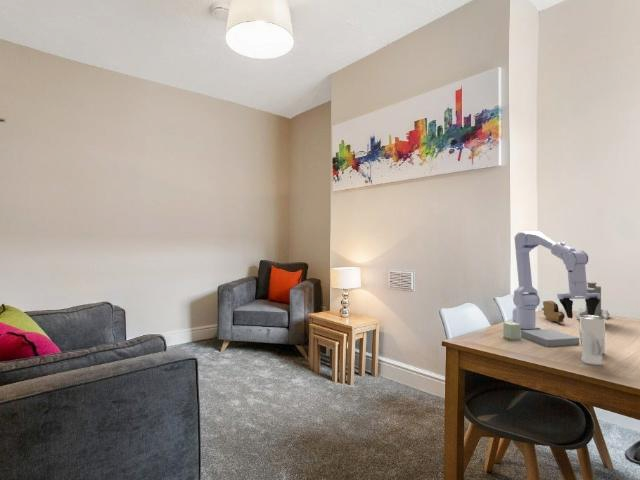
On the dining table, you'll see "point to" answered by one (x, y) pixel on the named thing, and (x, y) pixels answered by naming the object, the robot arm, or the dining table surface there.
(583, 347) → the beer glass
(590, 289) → the hip flask
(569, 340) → the slate block
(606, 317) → the seahorse
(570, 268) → the robot arm
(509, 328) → the sage block
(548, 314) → the wooden carving
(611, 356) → the dining table surface
